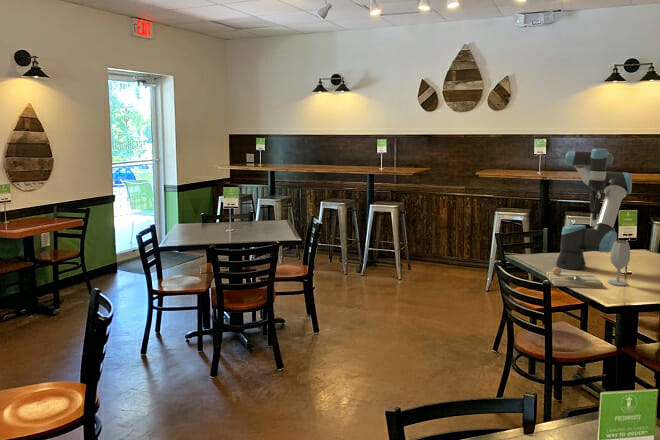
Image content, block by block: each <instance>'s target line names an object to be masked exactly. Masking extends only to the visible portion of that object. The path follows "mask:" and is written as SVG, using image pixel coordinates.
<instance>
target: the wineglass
mask: <svg viewBox="0 0 660 440" xmlns="http://www.w3.org/2000/svg"><path fill="white" fill-rule="evenodd" d="M630 260H631V248H630V243H629V242H628V241H625V240H624V241H623V240H616V241H615V242H614V244H613V246H612V250H611V252H610V262H611V264H612V265H613V266H614V267H615V268H616V270H617V271H616V279H609V280H607V283H608V284H610V285H613V286H619V287H621V286H622V287H623V286H624V287H626V286H628V285H629V284H628V282H627V281H623V280H620V278H621V270H622V269H623V268H624V269H625V267H627V266H629V263H630Z"/></svg>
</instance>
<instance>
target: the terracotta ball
mask: <svg viewBox="0 0 660 440" xmlns="http://www.w3.org/2000/svg"><path fill="white" fill-rule="evenodd" d="M561 269H562V268H560V267H557V266H555V267H554V268H553V269H552V272H553V274H555V275H559V274H560V273H561V272H562V270H561Z"/></svg>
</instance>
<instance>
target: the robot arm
mask: <svg viewBox="0 0 660 440" xmlns="http://www.w3.org/2000/svg"><path fill="white" fill-rule="evenodd" d="M564 161H565V164H566V166H573V167H574V168H575V169H576V171H577V172H578V174H579V175H580V176H581V180H582V183H583V184H584V185H586V186H587V187H588V188H590V189H591V190H590V192H589V211H590V219H589V226H590V227H591V228H587V226H586V225H585V224H570V225H564V226H563V227H562V229H561V237H560V251H559V254H558V257H557V258H556V261H555V267H559V268H560V269H564V270H572V271H573V270H574V271H578V270H579V271H580V270H585V269H586V264H587V263H586V260H585V257H584V251H591V252H597V253H598V252H599V253H611V250H612V246H613V244H614V242H615V241H618V234H617V232H616V230H615V228H614V226H615V224H616V223H615V222H616V219H617V217H618V213H619V209H620V207H621V204H622V201H623V199H624V198H626V197H627V195H630V194H631V193H632V190H633V187H632V186H633V183H632V182H633V181H632V180H633V179H632V177H633V176H632V174H631V173H629V172H624V171H623V172H618V171H607V167H609V166H611V165H612V163H613V162H614V156H613V154H612V153H611V152H609V150H608V149H607V148H593V149H591V151H583V150H581V151H580V150H569V151H567V152H566V155H565V160H564ZM602 193H604V195H605V196H604V199H603V202H602V198H603V194H602ZM601 202H602V206H601Z"/></svg>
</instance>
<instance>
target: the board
mask: <svg viewBox="0 0 660 440" xmlns="http://www.w3.org/2000/svg"><path fill="white" fill-rule="evenodd" d="M545 274H546V275H545V277H546V278H547V280H549V281H550V283H551V284H552V285H553V286H555V287H570V288H571V287H573V288H587V289H589V288H592V289H603V288H604V287H603V286H604V283H603V282H602V281H601V280H600V279H598V278H597V277H596V276H595V275H594V274H593V273H583V272H582V273H579V272H562V271H561V273H560V274H559V275H555V274H553V271H546V273H545ZM576 276H577V277H580V278H581V281H575V280H573V278H574V277H576Z"/></svg>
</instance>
